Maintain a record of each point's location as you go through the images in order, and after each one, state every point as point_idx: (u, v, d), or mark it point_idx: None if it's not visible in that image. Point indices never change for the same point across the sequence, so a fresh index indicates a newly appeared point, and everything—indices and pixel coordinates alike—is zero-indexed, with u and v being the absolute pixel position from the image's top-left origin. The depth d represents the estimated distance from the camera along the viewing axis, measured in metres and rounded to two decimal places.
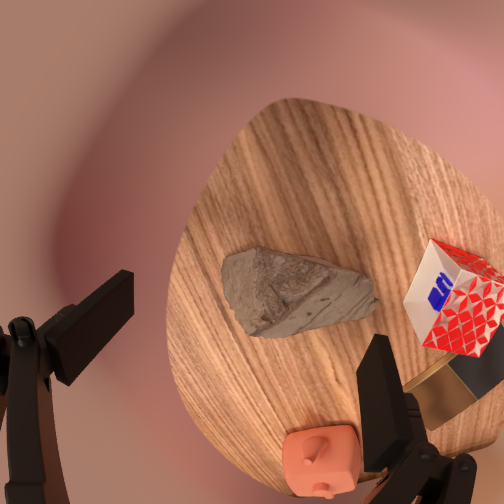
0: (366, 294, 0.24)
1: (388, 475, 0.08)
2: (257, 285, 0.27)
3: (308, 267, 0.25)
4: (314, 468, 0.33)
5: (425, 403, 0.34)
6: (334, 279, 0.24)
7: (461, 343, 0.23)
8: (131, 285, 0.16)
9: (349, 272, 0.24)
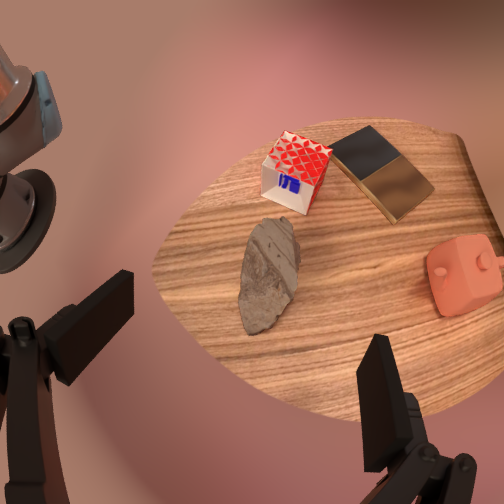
0: (273, 222, 0.40)
1: (388, 475, 0.08)
2: (258, 294, 0.37)
3: (246, 254, 0.38)
4: (457, 270, 0.35)
5: (400, 194, 0.47)
6: (256, 237, 0.38)
7: (317, 161, 0.42)
8: (131, 285, 0.16)
9: (254, 229, 0.39)
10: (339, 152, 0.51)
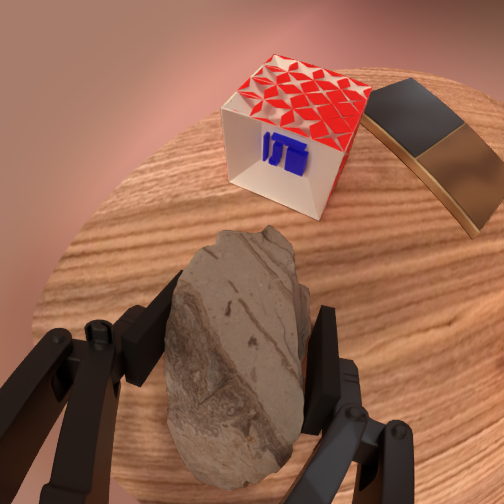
0: (244, 242, 0.15)
1: (321, 440, 0.10)
2: (201, 429, 0.13)
3: (170, 329, 0.14)
4: None
5: (478, 185, 0.23)
6: (193, 286, 0.14)
7: (345, 104, 0.18)
8: None
9: (191, 262, 0.15)
10: (373, 109, 0.27)
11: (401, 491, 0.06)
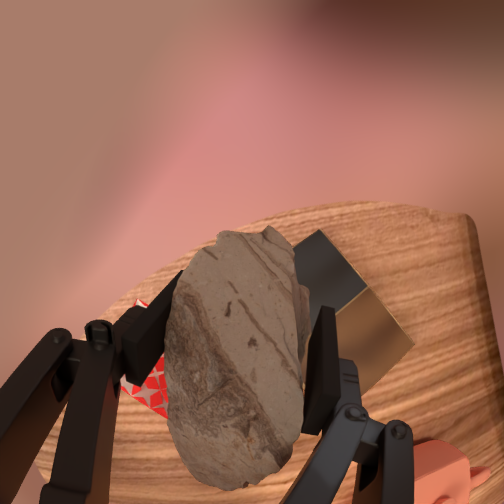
0: (243, 242, 0.15)
1: (321, 440, 0.10)
2: (201, 430, 0.13)
3: (170, 330, 0.14)
4: None
5: None
6: (193, 286, 0.14)
7: None
8: None
9: (191, 262, 0.15)
10: None
11: (400, 491, 0.06)
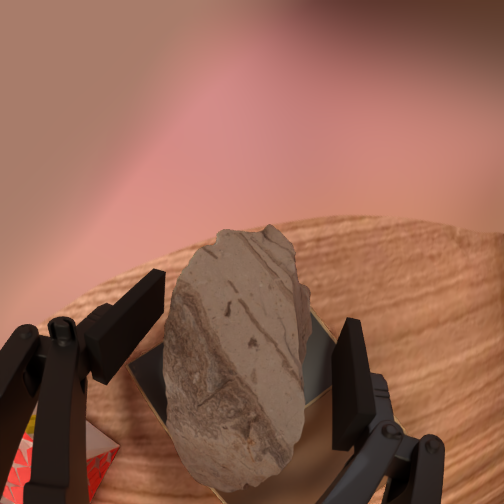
0: (244, 241, 0.15)
1: (354, 455, 0.09)
2: (200, 431, 0.12)
3: (169, 330, 0.13)
4: None
5: (308, 500, 0.15)
6: (192, 286, 0.14)
7: None
8: (162, 284, 0.16)
9: (190, 261, 0.14)
10: (157, 383, 0.18)
11: None
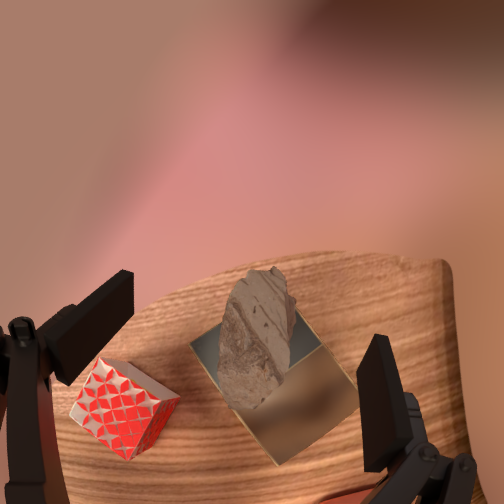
0: (261, 276, 0.30)
1: (388, 475, 0.08)
2: (239, 371, 0.28)
3: (225, 320, 0.29)
4: None
5: (296, 425, 0.30)
6: (237, 299, 0.29)
7: (135, 422, 0.24)
8: (131, 285, 0.16)
9: (235, 286, 0.30)
10: (208, 353, 0.33)
11: None
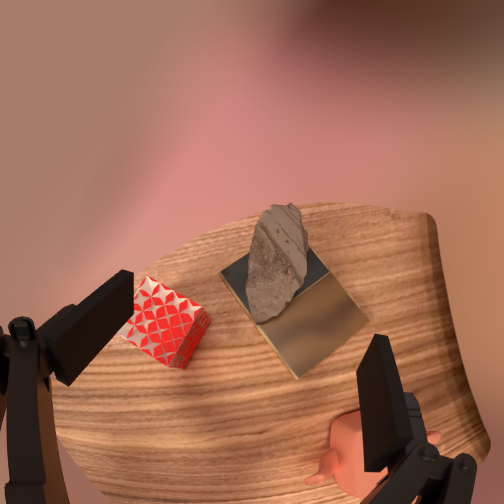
0: (281, 208, 0.39)
1: (388, 475, 0.08)
2: (266, 281, 0.36)
3: (254, 240, 0.37)
4: (349, 467, 0.26)
5: (312, 340, 0.39)
6: (263, 223, 0.37)
7: (177, 328, 0.33)
8: (131, 285, 0.16)
9: (261, 215, 0.38)
10: (236, 279, 0.42)
11: None
